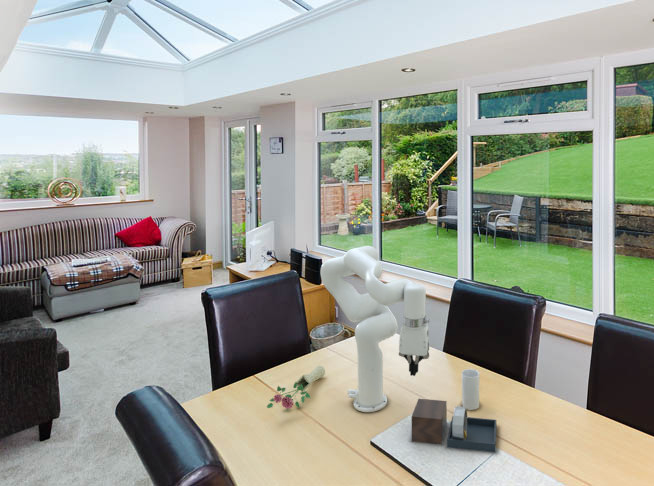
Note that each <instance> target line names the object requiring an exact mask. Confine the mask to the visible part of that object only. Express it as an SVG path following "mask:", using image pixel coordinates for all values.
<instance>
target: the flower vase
mask: <svg viewBox="0 0 654 486" xmlns="http://www.w3.org/2000/svg"><path fill="white" fill-rule="evenodd" d="M325 375H326V368H325V367H324V366H322V365H317V366H316V367H315V368H314V369H313V370H312V371H311V372H309V373H307V374H302V376H300V377H299V379H298V380H297V381H295V382H294V383H293V389H294V390H292V391H288V392H285V391H286V389H287V387H281V386H279V385H277V388H276V391H277V392H279V393H280V394H279V393H278V394H277V393H276V394H274V396H273V397H272V398H271V399H269V401H270V403H268V404H267V406H266V408H267V409H271V408H273V406H274V403H275V404H279V403H281V406H282V408H284V409H285V411H289V410H290V409H292V408H294V405H295V406H296V408H298V409H300V406H301V405H300V403H299V401H298V400H297V399H296V397H295V396H296V394H300V395H302V396H300V401H301V403H302V404H305V399H306V398H307V399H311V398H312V397H311V395H310V393H309V392H308V391H306V390H307V389H308V388H309V387H310V386H311V385H312V384H313V383H314V382H315V381H317V380H320V379H321V378H324V376H325ZM284 392H285V393H284ZM293 392H294V393H293ZM291 393H293V394H291ZM293 397H294V398H293ZM294 400H296V401H295V402H294Z"/></svg>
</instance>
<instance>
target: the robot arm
mask: <svg viewBox="0 0 654 486" xmlns="http://www.w3.org/2000/svg"><path fill="white" fill-rule="evenodd" d="M379 260H380V255H379V252H378V250H377V248H376V247H374V246H372V245H364V246H359V247H354V248H350V249H348V251H346V252H345V254H344V255H341V256H336V257H332V258H329V259H327V260H325V261H324V262H323V263H322V264H321V267H320V279H321V282H322V284H323V286H324V288H325V289H326V290H327V291H328V292H329V294H330V295H331V296H332V297H333V298H334V300H335V301H336V302H337V304H338V306H339V307H340V309H341V310H342V312H343V314H344V315H345V317H346V318H347V319H348V320H349V321H350V323H357V325H356V327H355V328H354V338H355V343H356V351H357V388H356V389H352V388H348V390H347V396H348V397H347V398H349V399H354V400H353V407H354V409H355V410H356V411H359V412H363V413H374V412H377V411H380V410H382V409H384V408H385V407H386V405H387V404H388V397H387V395H386V394H385V393H384V355H383V351H382V349H381V348H380V346H379V344H380V343H381V342H383V341H385V340H387V339H390V338H391V337H394V336H395V335H396V334H397V332H398V330H399V326H398V325H399V324H398V321H397V318H396V317H395V315H394V313H393V312H392V311H391V309H390V307H389V306H393V305H396V304H399V303H402V302H403V322H402V323H401V327H400V332H399V340H398V356H399V357H402V358H404V359H405V360H406V361H407V363H408V372H409V374H410V375H409V376H413V377H416V375H417V374H418V372H419V363H420V362H421V361H422V360H427V359H428V360H429V358H430V352H429V351H430V331H429V325H428V324H430V318H427V315H426V304H427V303H426V300H427V297H426V295H427V294H426V293H427V291H426V286H425V285H424V284H421V283H416V282H413V281H412V280H411V279H408V278H401V279H396V280H393V281H390V282H386V283H385V282H383V281H381V280H380V277H381V276H382V273H383V265H382V263H381V262H380V261H379ZM353 275H357V276H358V277H359V278H361V279H362V280H363V281H364V284H365V285H364V286H365V289H366V291H367V292H365V293H363V294H361V293H360V292H358V290H356V288H355V286H354V285H353V284H351V282H349V281H347V280H345V279H344V278H346V277H349V276H353ZM414 356H415V358H414Z"/></svg>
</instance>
